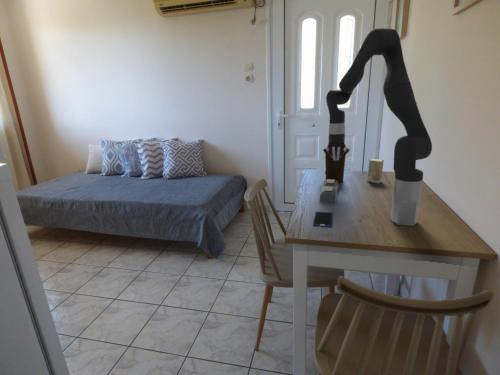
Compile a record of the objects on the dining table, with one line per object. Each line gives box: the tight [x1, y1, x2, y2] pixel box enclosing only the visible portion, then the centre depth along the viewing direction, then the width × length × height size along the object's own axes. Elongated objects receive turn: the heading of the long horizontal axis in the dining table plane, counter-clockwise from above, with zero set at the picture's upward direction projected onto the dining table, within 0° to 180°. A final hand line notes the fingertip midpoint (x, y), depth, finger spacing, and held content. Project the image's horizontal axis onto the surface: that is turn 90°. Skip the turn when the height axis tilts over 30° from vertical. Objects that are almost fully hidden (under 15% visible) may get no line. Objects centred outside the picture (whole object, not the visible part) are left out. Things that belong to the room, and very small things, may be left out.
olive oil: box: [324, 148, 347, 185], centre depth 164 cm, size 11×11×25 cm
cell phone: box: [312, 211, 334, 228], centre depth 122 cm, size 7×14×1 cm, turn 164°
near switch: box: [324, 186, 333, 191], centre depth 143 cm, size 5×4×1 cm
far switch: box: [327, 179, 335, 183], centre depth 154 cm, size 5×4×1 cm
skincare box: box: [366, 158, 384, 184], centre depth 163 cm, size 6×4×12 cm
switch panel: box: [319, 179, 339, 203], centre depth 149 cm, size 22×7×4 cm, turn 161°
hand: (335, 167), depth 151 cm, fingers closed
